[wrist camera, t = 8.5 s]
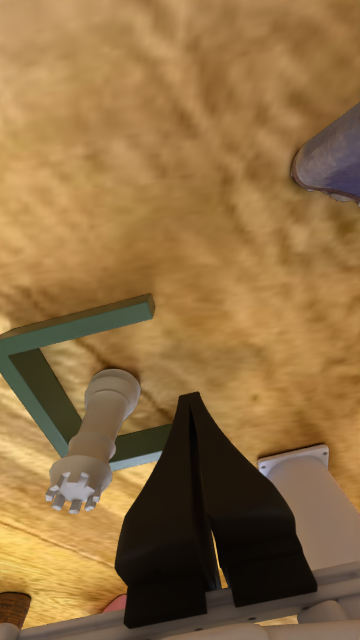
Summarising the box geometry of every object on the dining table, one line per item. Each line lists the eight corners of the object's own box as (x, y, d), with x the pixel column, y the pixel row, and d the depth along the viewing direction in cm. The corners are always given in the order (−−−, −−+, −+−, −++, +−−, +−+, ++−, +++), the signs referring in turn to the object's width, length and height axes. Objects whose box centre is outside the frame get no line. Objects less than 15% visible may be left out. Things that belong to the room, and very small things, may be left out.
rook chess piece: (133, 410, 17) (107, 528, 10) (86, 399, 17) (19, 518, 9) (147, 373, 16) (129, 477, 9) (96, 359, 15) (27, 461, 8)
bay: (192, 427, 19) (195, 452, 16) (88, 452, 19) (77, 480, 17) (151, 293, 14) (147, 301, 11) (10, 329, 14) (-21, 344, 12)
